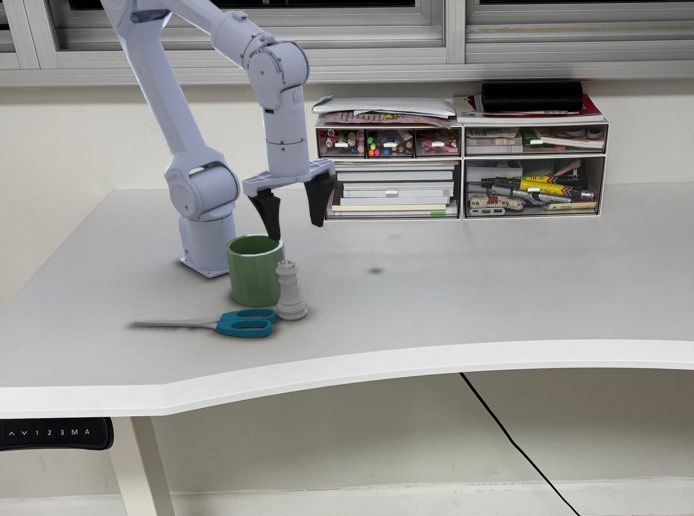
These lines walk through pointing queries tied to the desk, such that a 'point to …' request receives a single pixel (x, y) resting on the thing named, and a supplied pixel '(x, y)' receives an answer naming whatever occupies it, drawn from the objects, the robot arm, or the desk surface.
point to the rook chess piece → (290, 293)
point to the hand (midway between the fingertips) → (296, 232)
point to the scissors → (229, 322)
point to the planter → (255, 269)
